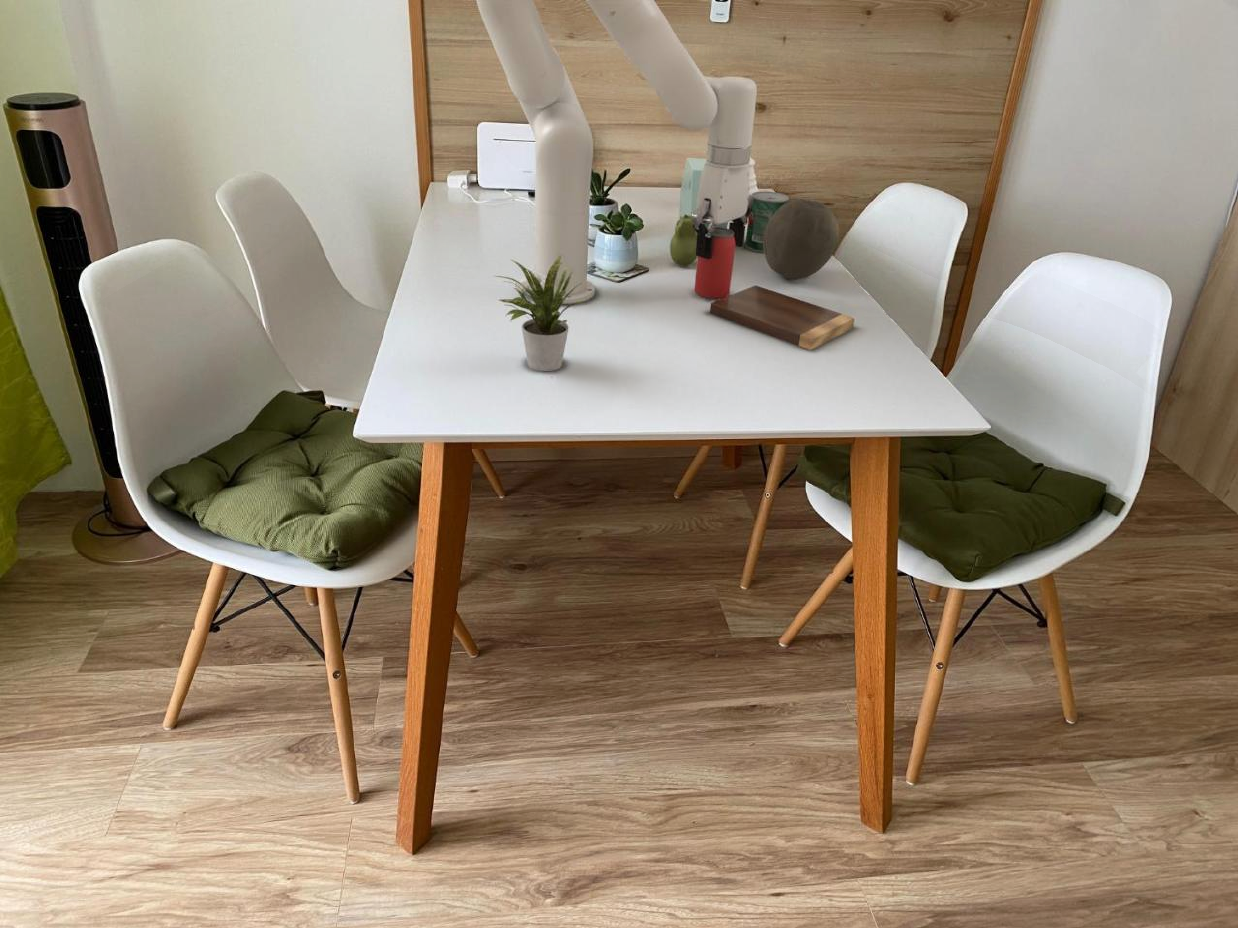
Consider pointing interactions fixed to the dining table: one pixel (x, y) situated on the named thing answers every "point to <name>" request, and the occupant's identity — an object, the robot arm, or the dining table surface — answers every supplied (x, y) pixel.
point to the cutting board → (782, 316)
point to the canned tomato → (762, 217)
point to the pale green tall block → (692, 188)
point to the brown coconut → (800, 238)
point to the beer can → (716, 266)
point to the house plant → (543, 318)
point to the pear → (684, 242)
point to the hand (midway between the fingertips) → (719, 251)
